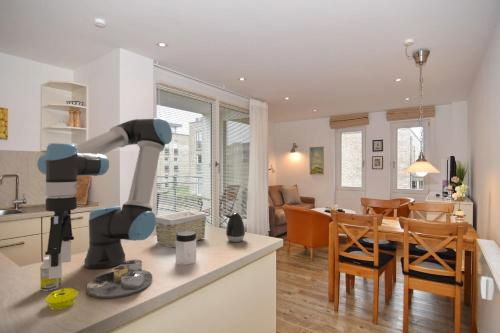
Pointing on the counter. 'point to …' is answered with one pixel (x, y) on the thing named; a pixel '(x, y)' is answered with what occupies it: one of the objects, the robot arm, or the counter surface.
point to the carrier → (120, 281)
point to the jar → (186, 247)
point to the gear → (61, 298)
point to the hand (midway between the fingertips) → (60, 269)
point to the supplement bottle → (44, 274)
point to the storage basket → (179, 226)
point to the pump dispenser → (235, 228)
